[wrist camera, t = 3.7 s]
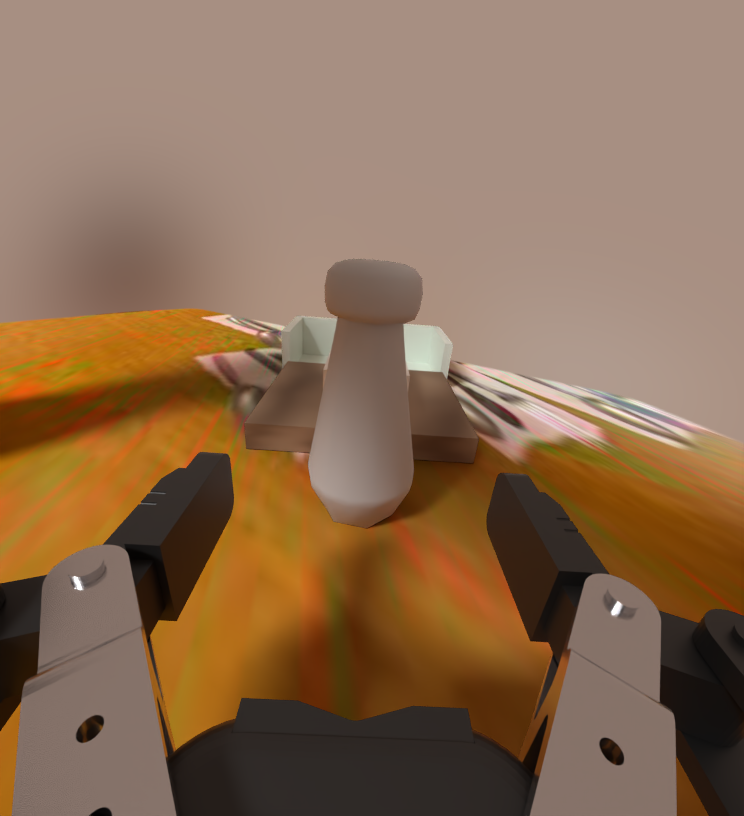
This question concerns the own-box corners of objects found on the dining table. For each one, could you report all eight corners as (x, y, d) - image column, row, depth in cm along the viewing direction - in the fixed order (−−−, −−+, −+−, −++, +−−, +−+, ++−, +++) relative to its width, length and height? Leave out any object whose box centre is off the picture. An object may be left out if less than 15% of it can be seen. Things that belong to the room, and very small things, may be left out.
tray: (282, 378, 38) (281, 331, 36) (297, 355, 46) (297, 315, 44) (445, 390, 39) (453, 344, 37) (432, 365, 46) (438, 326, 44)
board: (246, 448, 25) (244, 422, 24) (288, 379, 38) (287, 361, 37) (473, 463, 26) (478, 438, 25) (439, 390, 39) (442, 372, 38)
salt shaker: (353, 463, 25) (366, 256, 19) (426, 500, 22) (466, 267, 16) (286, 504, 20) (278, 253, 15) (366, 558, 17) (393, 268, 12)
